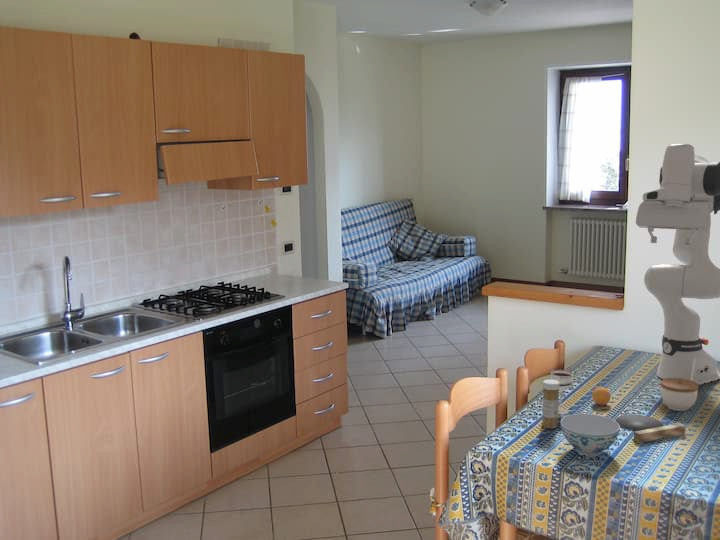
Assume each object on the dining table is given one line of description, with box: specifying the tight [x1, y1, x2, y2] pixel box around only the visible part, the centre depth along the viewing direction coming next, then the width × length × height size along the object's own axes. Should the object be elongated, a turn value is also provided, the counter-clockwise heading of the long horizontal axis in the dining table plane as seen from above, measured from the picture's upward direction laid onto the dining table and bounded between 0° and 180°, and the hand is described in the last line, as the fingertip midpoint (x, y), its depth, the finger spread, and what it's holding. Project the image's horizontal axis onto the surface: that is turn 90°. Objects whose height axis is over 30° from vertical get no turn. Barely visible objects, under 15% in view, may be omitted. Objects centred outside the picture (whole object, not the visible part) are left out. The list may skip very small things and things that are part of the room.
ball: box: [591, 386, 611, 406], centre depth 239 cm, size 6×6×6 cm
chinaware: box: [560, 413, 621, 457], centre depth 204 cm, size 15×15×8 cm
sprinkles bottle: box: [541, 378, 560, 429], centre depth 221 cm, size 5×5×14 cm
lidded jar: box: [659, 378, 700, 412], centre depth 236 cm, size 11×11×9 cm
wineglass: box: [549, 369, 574, 415], centre depth 233 cm, size 7×7×12 cm
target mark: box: [614, 414, 664, 432], centre depth 224 cm, size 13×13×1 cm
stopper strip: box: [633, 422, 686, 444], centre depth 213 cm, size 16×2×2 cm, turn 111°
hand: (670, 243), depth 224 cm, fingers open, 8 cm apart
